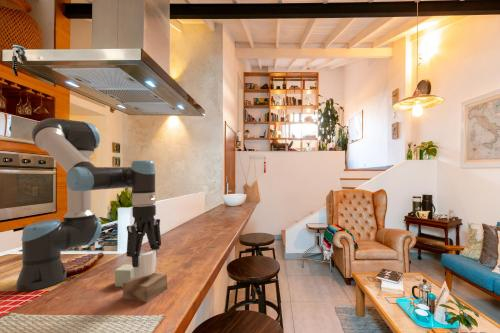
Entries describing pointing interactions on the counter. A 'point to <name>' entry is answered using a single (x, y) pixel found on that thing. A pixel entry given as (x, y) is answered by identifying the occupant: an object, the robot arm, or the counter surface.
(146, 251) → the shot glass
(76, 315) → the counter surface
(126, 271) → the sage block
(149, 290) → the walnut block
